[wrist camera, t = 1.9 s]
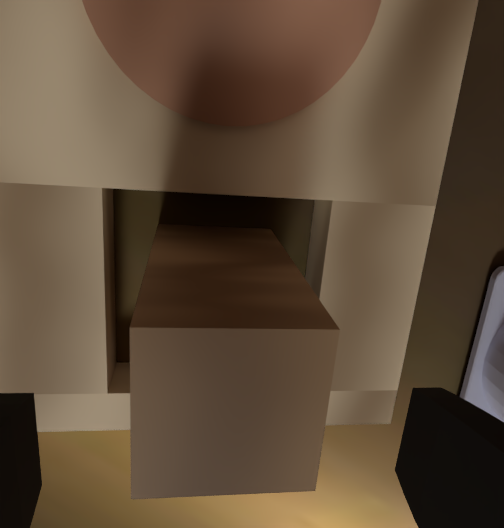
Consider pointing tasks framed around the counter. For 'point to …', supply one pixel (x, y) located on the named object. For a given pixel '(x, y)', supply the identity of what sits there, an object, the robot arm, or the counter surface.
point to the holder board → (218, 168)
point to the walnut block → (227, 367)
